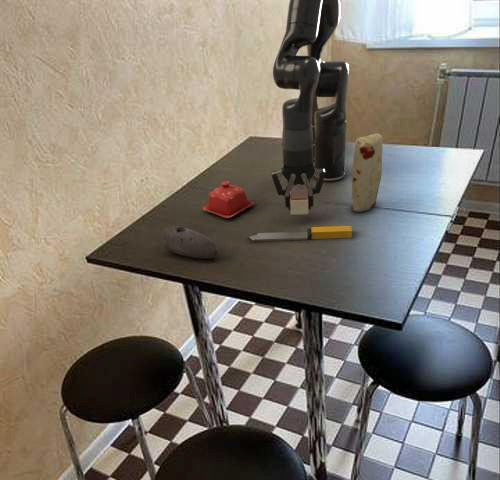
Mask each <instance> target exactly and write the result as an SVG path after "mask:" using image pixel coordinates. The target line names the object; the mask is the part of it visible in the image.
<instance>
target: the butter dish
mask: <svg viewBox="0 0 500 480" xmlns="http://www.w3.org/2000/svg"><path fill="white" fill-rule="evenodd" d="M220 185H221V186H218V187H217V188H215V189H214V190H212V191H211V192H210V193H209V195H208V204H206V205H205V206H203V207H202V210H203V211H205V212H207V213H210V214H214V215H217V216H219V217H221V218H224V219H231V218H232V217H235V216H236V215H237V214H240V213H241V212H243V211H245V210H247V209H248V208H250V207H252V206H253V205H254V204H255V202H254V201H252V200H250V199H248V196H247V194H246V191H245V190H244V189H243V188H242V187H239V186H237V185H234V184H231V182H230V181H227V180H225V181H222V182H221V183H220Z"/></svg>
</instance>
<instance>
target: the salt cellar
mask: <svg viewBox="0 0 500 480" xmlns="http://www.w3.org/2000/svg"><path fill="white" fill-rule="evenodd" d="M290 207H291V210H290V215H291V216H293V215H296V216H297V215H309V209H308V192H307V189H292V190H291V192H290Z"/></svg>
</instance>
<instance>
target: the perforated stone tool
mask: <svg viewBox="0 0 500 480" xmlns="http://www.w3.org/2000/svg"><path fill="white" fill-rule="evenodd" d="M161 238H162V243H163V246H164V248H165V249H166V250H167V251H169V252H171V253H173V254H176V255H178V256H182V257H188V258H194V259H201V260H210V259H214V258H216V257H217V256H218V253H219V249H218V247H217V245H216V243H214V241H213V240H212V239H211V238H209V237H208V236H206V235H205V234H203V233H200V232H198V231H196V230H194V229H190V228H188V227H184V226H179V225H173V224H171V225H169V226H166V227H165V228H164V229H163V231H161Z"/></svg>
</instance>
